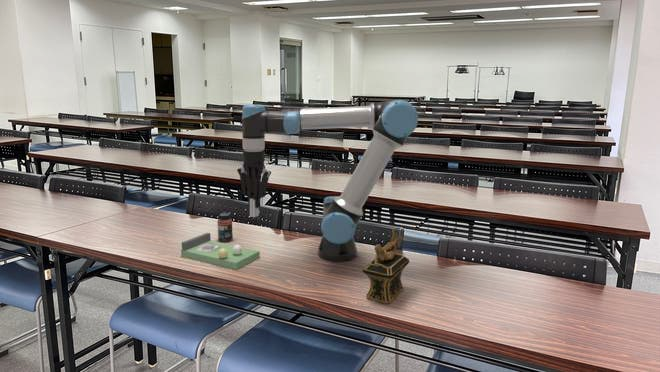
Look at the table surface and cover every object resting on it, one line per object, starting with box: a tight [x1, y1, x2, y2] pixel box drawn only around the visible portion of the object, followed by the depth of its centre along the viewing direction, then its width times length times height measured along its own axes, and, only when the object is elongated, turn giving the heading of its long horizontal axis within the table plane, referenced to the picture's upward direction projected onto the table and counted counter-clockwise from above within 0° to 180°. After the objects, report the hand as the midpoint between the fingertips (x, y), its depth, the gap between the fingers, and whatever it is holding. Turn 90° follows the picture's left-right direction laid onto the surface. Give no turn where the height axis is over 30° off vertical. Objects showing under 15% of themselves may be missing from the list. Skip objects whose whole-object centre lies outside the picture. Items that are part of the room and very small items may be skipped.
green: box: [180, 232, 261, 271], centre depth 176 cm, size 26×14×6 cm, turn 63°
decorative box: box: [362, 228, 410, 304], centre depth 148 cm, size 20×10×20 cm, turn 151°
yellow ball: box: [218, 248, 228, 258], centre depth 168 cm, size 4×4×4 cm
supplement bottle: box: [217, 212, 234, 243], centre depth 194 cm, size 6×6×11 cm
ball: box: [232, 244, 242, 255], centre depth 172 cm, size 4×4×4 cm
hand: (254, 216), depth 166 cm, fingers closed
